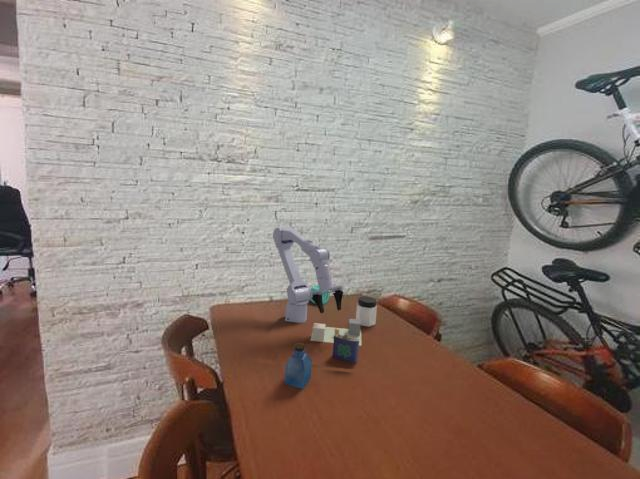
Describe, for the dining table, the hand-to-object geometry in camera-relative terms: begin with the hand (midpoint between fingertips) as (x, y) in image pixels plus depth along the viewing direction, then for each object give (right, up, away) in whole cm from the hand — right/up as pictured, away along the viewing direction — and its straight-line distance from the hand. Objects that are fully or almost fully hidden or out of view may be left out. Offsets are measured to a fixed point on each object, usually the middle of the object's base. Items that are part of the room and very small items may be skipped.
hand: (330, 311), depth 132 cm
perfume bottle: (-11, -16, -28) cm, 34 cm away
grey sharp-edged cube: (+10, -10, +6) cm, 16 cm away
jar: (+16, -10, +18) cm, 26 cm away
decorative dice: (-5, -5, +44) cm, 44 cm away
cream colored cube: (-5, -10, 0) cm, 12 cm away
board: (+2, -11, +3) cm, 12 cm away
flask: (+4, -15, -15) cm, 21 cm away
